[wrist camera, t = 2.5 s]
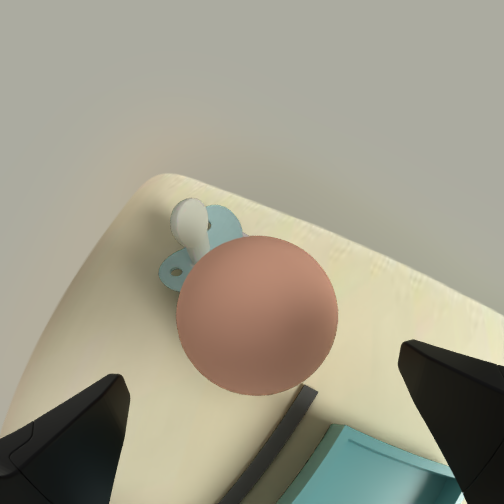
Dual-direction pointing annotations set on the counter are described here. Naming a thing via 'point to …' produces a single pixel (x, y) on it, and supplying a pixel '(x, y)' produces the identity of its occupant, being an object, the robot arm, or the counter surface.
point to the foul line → (271, 447)
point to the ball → (257, 315)
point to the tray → (369, 474)
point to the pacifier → (196, 237)
